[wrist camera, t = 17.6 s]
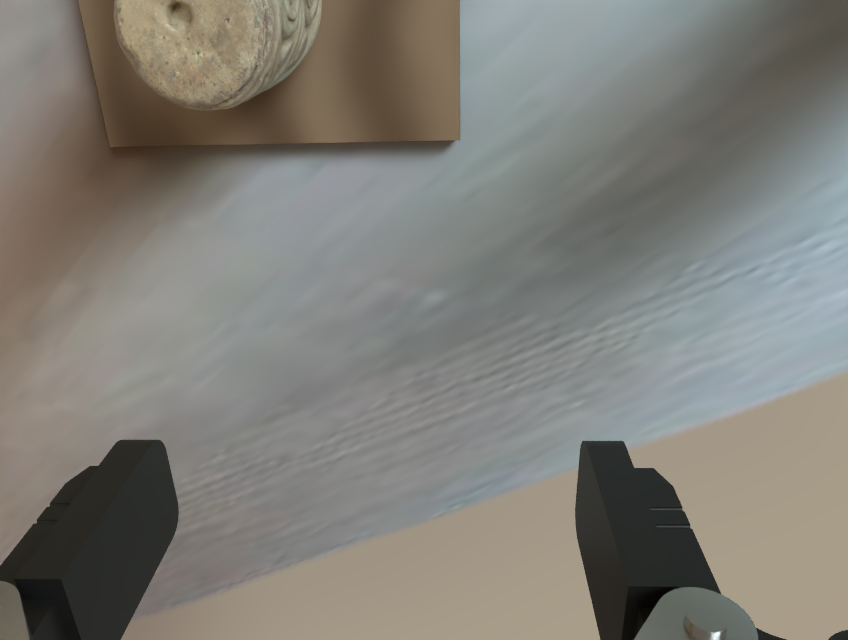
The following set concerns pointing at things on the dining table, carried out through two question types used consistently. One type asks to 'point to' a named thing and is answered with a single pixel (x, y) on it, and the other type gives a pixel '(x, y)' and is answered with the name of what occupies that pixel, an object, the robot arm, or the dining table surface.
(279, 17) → the carving
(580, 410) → the dining table surface
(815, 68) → the dining table surface
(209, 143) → the walnut board
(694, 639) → the robot arm
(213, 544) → the dining table surface
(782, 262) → the dining table surface
